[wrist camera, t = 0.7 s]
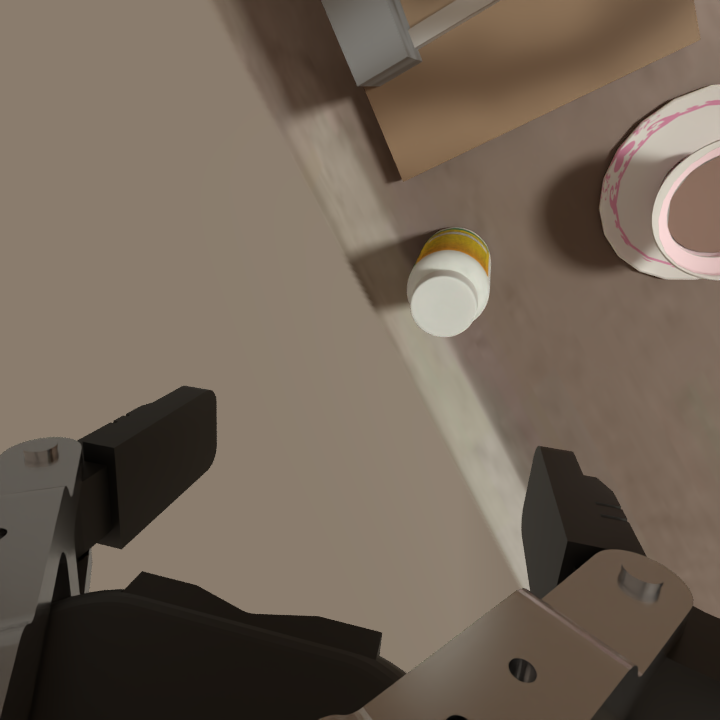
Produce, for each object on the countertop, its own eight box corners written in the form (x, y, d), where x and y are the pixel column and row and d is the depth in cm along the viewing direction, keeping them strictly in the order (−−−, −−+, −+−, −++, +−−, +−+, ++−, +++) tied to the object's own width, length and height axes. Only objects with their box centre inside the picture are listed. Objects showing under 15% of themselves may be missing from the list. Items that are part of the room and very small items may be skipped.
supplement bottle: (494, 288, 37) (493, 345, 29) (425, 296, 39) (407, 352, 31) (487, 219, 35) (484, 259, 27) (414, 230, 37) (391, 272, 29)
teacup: (561, 232, 34) (573, 258, 29) (683, 45, 28) (726, 36, 23) (712, 305, 34) (751, 344, 29) (870, 136, 28) (957, 147, 23)
